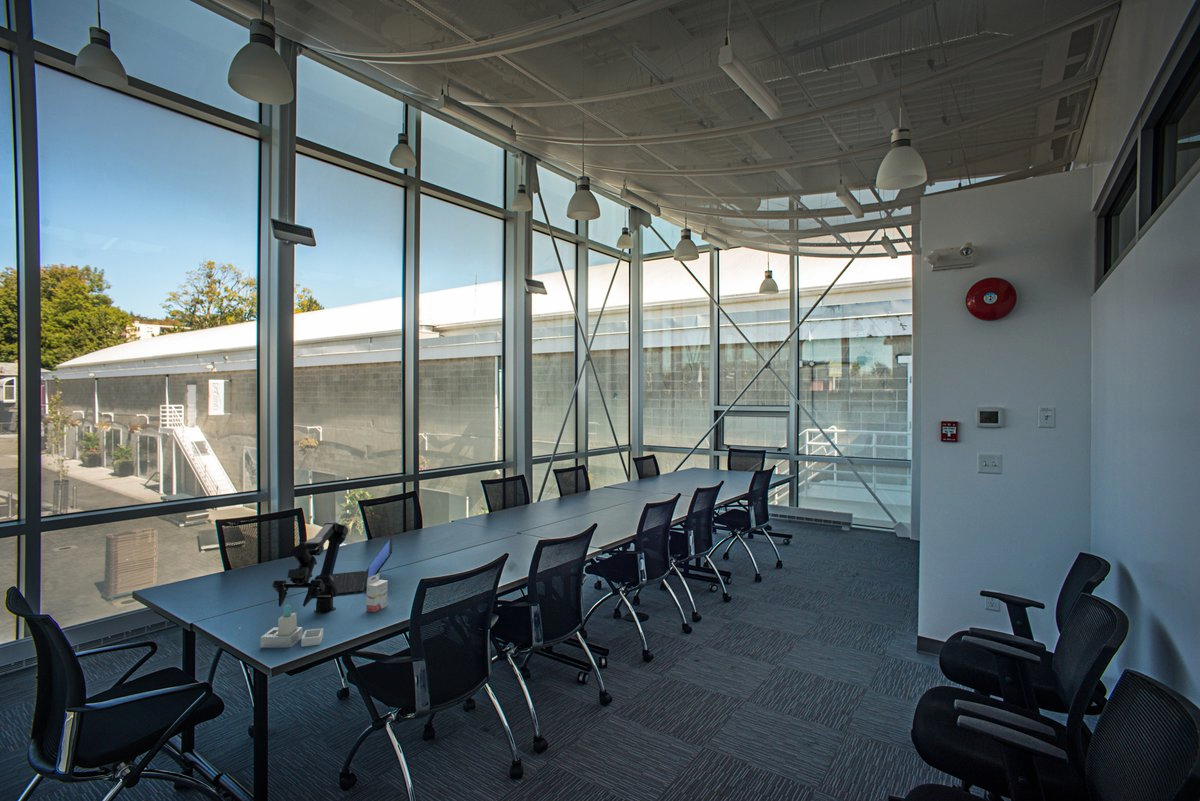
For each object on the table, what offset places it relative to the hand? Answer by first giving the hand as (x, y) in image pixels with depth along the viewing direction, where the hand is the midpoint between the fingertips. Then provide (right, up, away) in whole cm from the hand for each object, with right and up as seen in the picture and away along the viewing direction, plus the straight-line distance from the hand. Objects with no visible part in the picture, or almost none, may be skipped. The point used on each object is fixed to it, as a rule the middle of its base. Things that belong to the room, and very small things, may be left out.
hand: (291, 606), depth 223 cm
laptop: (-5, -13, +66) cm, 68 cm away
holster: (+9, -13, -2) cm, 16 cm away
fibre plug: (0, -13, -3) cm, 13 cm away
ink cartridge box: (+21, -13, +32) cm, 41 cm away
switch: (-2, -13, -3) cm, 13 cm away
